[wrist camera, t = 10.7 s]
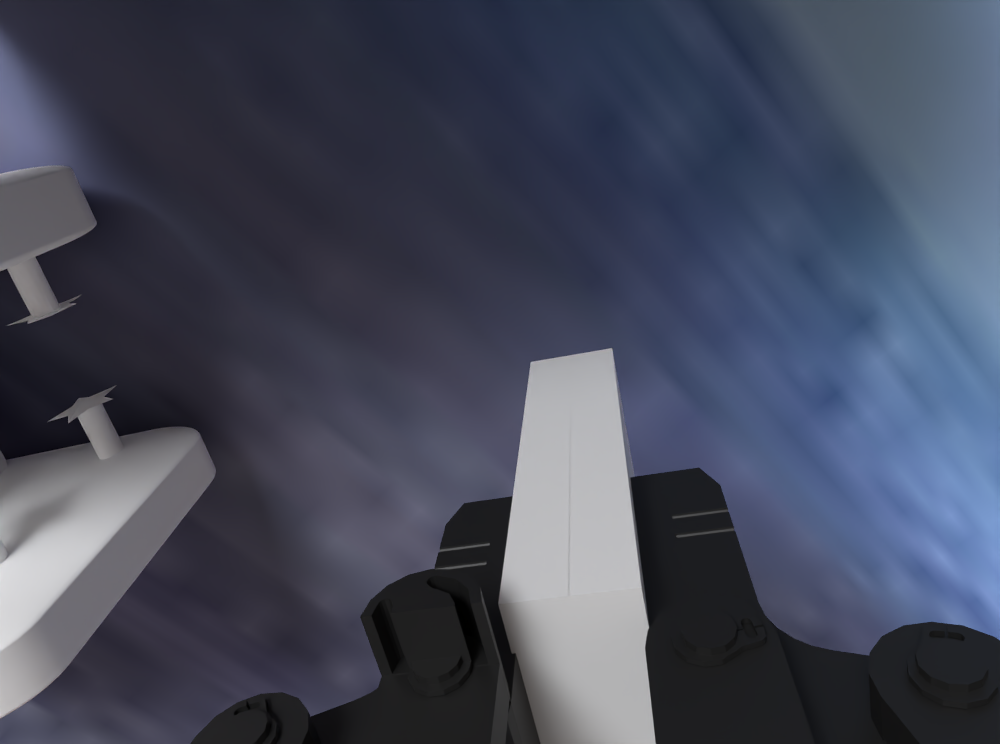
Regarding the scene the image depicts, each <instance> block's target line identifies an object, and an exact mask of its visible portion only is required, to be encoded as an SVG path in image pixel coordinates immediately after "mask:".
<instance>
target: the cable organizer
mask: <svg viewBox="0 0 1000 744" xmlns="http://www.w3.org/2000/svg"><path fill="white" fill-rule="evenodd" d="M96 224H97V222H96V220H95V217H94V215H93V213H92V211H91V209H90V207H89V204H88V202H87V200H86V198H85V196H84V194H83V191H82V189H81V187H80V185H79V183H78V181H77V178H76V176H75V174H74V172H73V170H72V168H71V167H68V166H42V167H34V168H28V169H22V170H16V171H11V172H6V173H2V174H0V271H2V270H5V269H7V270H8V272H9V274H10V276H11V278H12V279H13V281H14V283H15V285H16V287H17V289H18V291H19V293H20V295H21V297H22V299H23V301H24V303H25V304H26V306H27V308H28V310H29V312H30V314H31V315H30V316H28V317H25V318H23V319H21V320H18V321H16V322H14V323H11V324H9V325H13V324H17V323H22V322H27V321H28V323H27V324H30V323H33V322H35V321H38V320H41V319H44V318H47V317H50V316H52V315H54V314H56V313H58V312H60V311H62V310H64V309H66V308H69V307H71V306H73V305H75V304H74V303H71V302H72V301H73V300H75V299H76V298H78V297H79V296H77V297H74V298H72V299H69V300H67V301H64V302H62V303H58V301H57V299H56V297H55V295H54V293H53V291H52V289H51V287H50V285H49V283H48V281H47V279H46V277H45V275H44V273H43V271H42V269H41V267H40V265H39V263H38V261H37V259H36V257H35V256H38V255H40V254H43V253H45V252H47V251H50V250H52V249H54V248H57V247H59V246H62V245H64V244H66V243H69V242H71V241H73V240H75V239H77V238H79V237H81V236H83V235H84V234H86V233H88V232H89V231H91V230H92V229H93V228H94V227H95V226H96ZM80 296H81V295H80ZM7 326H8V325H7ZM114 387H115V386H113V387H111V388H109V389H106V390H104V391H102V392H100V393H97V394H95V395H93V396H90V397H85V398H78V399H77V401H76V402H75V403H74V405H73V406H72V407H70V408H69V409H67V410H65V411H64V412H62V413H61V414H59V415H57V416H56V417H54V418H52V419H51V420H49V421H52V420H56V419H59V418H63V417H66V416H68V423H70V422H71V421H72V420H74V419H75V418H77V417H78V419H79V421H80V423H81V425H82V427H83V429H84V431H85V433H86V434H87V436H88V438H89V440H90V443H85V444H81V445H76V446H71V447H66V448H61V449H56V450H52V451H47V452H42V453H37V454H32V455H28V456H23V457H18V458H13V459H8V460H5V458H4V456H3V454H2V452H1V451H0V718H2V717H4V716H5V715H7V714H9V713H11V712H12V711H14V710H16V709H17V708H19V707H20V706H22V705H23V704H25V703H26V702H28V701H29V700H31V699H32V698H34V697H35V696H36V695H37V694H39V693H40V692H41V691H43V690H44V689H45V688H46V687H47V686H49V685H50V684H51V683H52V682H53V681H54V680H55V679H56V678H57V677H58V676H59V675H60V674H61V673H62V672H63V671H64V670H65V669H66V668H67V666H68V665H69V664H70V663H71V662H72V660H73V659H74V658H75V656H76V655H77V654H78V653H79V651H80V650H81V649H82V647H83V646H84V645H85V644H86V642H87V641H88V640H89V638H90V637H91V636H92V635H93V633H94V632H95V631H96V630H97V628H98V627H99V626H100V624H101V623H102V622H103V621H104V619H105V618H106V617H107V615H108V614H109V613H110V612H111V610H112V609H113V608H114V606H115V605H116V604H117V603H118V601H119V600H120V599H121V597H122V596H123V595H124V594H125V592H126V591H127V590H128V589H129V587H130V586H131V585H132V583H133V582H134V581H135V580H136V578H137V577H138V576H139V574H140V573H141V572H142V571H143V569H144V568H145V567H146V565H147V564H148V563H149V562H150V560H151V559H152V558H153V556H154V555H155V554H156V553H157V551H158V550H159V549H160V548H161V546H162V545H163V544H164V542H165V541H166V540H167V539H168V537H169V536H170V535H171V533H172V532H173V531H174V530H175V528H176V527H177V526H178V524H179V523H180V522H181V521H182V519H183V518H184V517H185V515H186V514H187V513H188V512H189V510H190V509H191V508H192V507H193V505H194V504H195V503H196V501H197V500H198V499H199V498H200V496H201V495H202V494H203V492H204V491H205V490H206V489H207V487H208V486H209V485H210V483H211V482H212V481H213V479H214V477H215V474H216V468H215V466H214V464H213V461H212V459H211V457H210V455H209V453H208V450H207V448H206V446H205V444H204V442H203V440H202V437H201V435H200V433H199V432H198V431H197V430H195V429H193V428H189V427H165V428H158V429H153V430H148V431H143V432H138V433H134V434H129V435H124V436H118V434H117V432H116V430H115V428H114V426H113V424H112V422H111V420H110V418H109V416H108V414H107V412H106V410H105V408H104V406H103V404H102V403H104V402H107V401H109V400H112V398H108V397H104V396H105V395H106V394H108V393H109V392H110V391H111V390H112V389H113V388H114ZM49 421H48V422H49Z"/></svg>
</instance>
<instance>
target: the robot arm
mask: <svg viewBox="0 0 1000 744" xmlns="http://www.w3.org/2000/svg"><path fill="white" fill-rule="evenodd" d="M361 620H362V623H363V626H364V628H365V631H366V634H367V637H368V639H369V642H370V645H371V648H372V650H373V653H374V656H375V659H376V661H377V664H378V667H379V670H380V672H381V675H382V677H381V681H380V684H379V687H378V688H377V689H376V690H374V691H373V692H371V693H369V694H367V695H365V696H363V697H361V698H359V699H357V700H354V701H352V702H349V703H347V704H344V705H341V706H338V707H336V708H333V709H330V710H327V711H325V712H322V713H319V714H317V715H314V716H311V717H310V715H309V712H308V710H307V709H306V708H305V706H304V705H303V704H302V702H301V701H300V700H299V698H296V697H293V696H291V695H288V694H285V693H267V694H259V695H257V696H254V697H251V698H248V699H246V700H243V701H240V702H238V703H236V704H234V705H233V706H231V707H230V708H228V709H227V710H225V711H224V712H222V713H220V714H219V715H217V716H216V717H215V718H214V719H213V720H212V721H211V722H210V723H209V724H208V725H207V726H206V727H205V728H204V729H203V730H202V731H201V732H200V733H199V734H198V735H197V736H196V737H195V738H194V740H193V741H192V742H191V744H1000V640H998V639H997V638H995V637H993V636H990V635H988V634H985V633H982V632H979V631H976V630H974V629H971V628H968V627H965V626H962V625H953V624H945V623H937V622H927V623H919V624H912V625H904V626H902V627H900V628H898V629H896V630H894V631H892V632H890V633H888V634H886V635H883V636H882V637H881V638H880V640H879V641H878V642H877V644H876V645H875V646H874V648H873V649H872V650H871V652H870V656H868V655H861V654H854V653H847V652H840V651H833V650H828V649H824V648H820V647H815V646H811V645H809V644H806V643H804V642H801V641H799V640H796V639H794V638H792V637H790V636H789V635H787V634H786V633H784V632H783V631H781V630H780V629H778V628H777V627H776V626H775V625H774V624H773V623H772V622H771V621H770V620H769V619H768V618H767V617H766V616H765V614H764V612H763V610H762V609H761V607H760V605H759V603H758V600H757V596H756V593H755V590H754V587H753V584H752V581H751V578H750V575H749V572H748V569H747V566H746V563H745V560H744V557H743V554H742V551H741V548H740V545H739V541H738V538H737V535H736V532H735V531H734V526H733V523H732V520H731V517H730V514H729V512H728V508H727V505H726V502H725V499H724V496H723V493H722V490H721V486H720V485H719V484H718V483H717V482H716V481H715V480H713V479H712V478H711V477H710V476H708V475H707V474H706V473H705V472H704V471H702V470H701V469H700V468H694V469H687V470H680V471H672V472H665V473H658V474H651V475H644V476H637V477H635V475H634V469H633V463H632V458H631V452H630V446H629V441H628V435H627V430H626V424H625V418H624V413H623V407H622V401H621V396H620V390H619V384H618V379H617V373H616V367H615V362H614V356H613V350H612V348H610V349H604V350H598V351H592V352H587V353H581V354H575V355H569V356H563V357H557V358H551V359H545V360H540V361H534V362H531V365H530V372H529V379H528V387H527V394H526V402H525V409H524V417H523V424H522V431H521V439H520V446H519V454H518V461H517V469H516V476H515V483H514V491H513V496H512V497H505V498H498V499H491V500H484V501H477V502H470V503H464V504H463V505H462V506H461V508H460V509H459V510H458V511H457V512H456V514H455V515H454V516H453V517H452V518H451V519H450V521H449V522H448V523H447V524H446V526H445V530H444V534H443V538H442V541H441V545H440V552H439V553H438V557H437V560H436V564H435V569H430V570H426V571H422V572H418V573H414V574H410V575H407V576H405V577H403V578H401V579H399V580H398V581H396V582H394V583H392V584H390V585H388V586H386V587H385V588H384V589H383V590H382V591H381V592H380V593H378V594H377V595H376V596H375V597H374V598H373V599H371V600H370V602H369V604H368V605H367V607H366V608H365V610H364V612H363V613H362V615H361Z"/></svg>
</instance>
